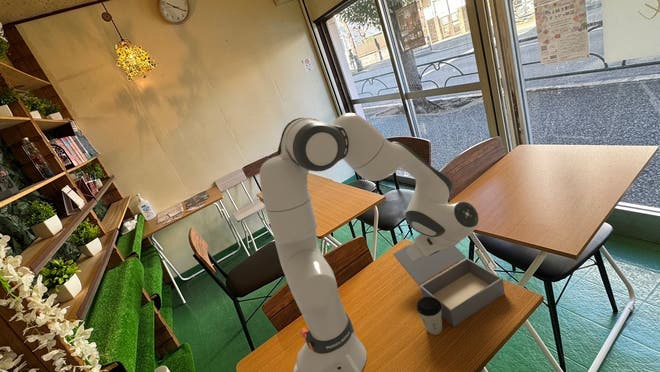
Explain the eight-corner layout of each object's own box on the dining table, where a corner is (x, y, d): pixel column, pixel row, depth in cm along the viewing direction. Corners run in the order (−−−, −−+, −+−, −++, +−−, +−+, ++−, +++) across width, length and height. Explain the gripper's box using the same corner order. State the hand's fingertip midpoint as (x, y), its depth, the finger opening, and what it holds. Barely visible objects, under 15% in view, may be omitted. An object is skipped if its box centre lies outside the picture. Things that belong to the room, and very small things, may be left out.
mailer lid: (393, 253, 110) (393, 254, 110) (418, 284, 101) (418, 285, 101) (437, 229, 115) (437, 230, 116) (465, 256, 106) (465, 257, 106)
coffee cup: (448, 321, 92) (442, 295, 89) (444, 340, 87) (437, 314, 83) (425, 316, 96) (419, 292, 93) (419, 335, 91) (412, 309, 87)
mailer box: (454, 327, 90) (450, 311, 88) (423, 300, 102) (419, 286, 100) (504, 293, 95) (502, 278, 93) (469, 271, 107) (466, 257, 105)
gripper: (463, 211, 97) (446, 226, 109) (410, 239, 92) (399, 252, 104) (476, 228, 95) (457, 242, 107) (423, 258, 89) (409, 269, 101)
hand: (428, 247), depth 105 cm, fingers closed
